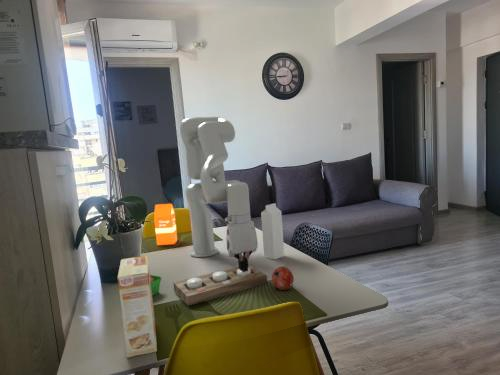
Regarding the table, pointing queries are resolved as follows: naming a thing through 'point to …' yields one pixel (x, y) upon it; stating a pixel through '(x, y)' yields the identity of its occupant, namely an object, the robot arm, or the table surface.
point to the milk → (272, 232)
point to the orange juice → (165, 224)
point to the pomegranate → (282, 278)
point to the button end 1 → (194, 283)
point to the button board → (219, 285)
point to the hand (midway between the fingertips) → (243, 270)
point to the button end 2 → (241, 273)
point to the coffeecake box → (137, 306)
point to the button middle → (219, 276)
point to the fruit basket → (155, 283)
